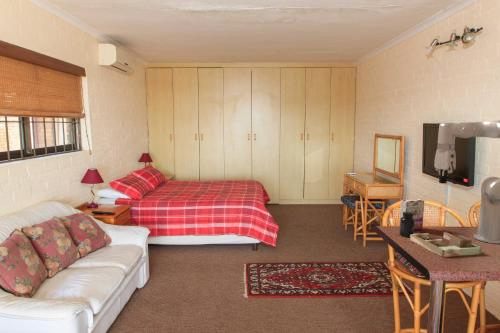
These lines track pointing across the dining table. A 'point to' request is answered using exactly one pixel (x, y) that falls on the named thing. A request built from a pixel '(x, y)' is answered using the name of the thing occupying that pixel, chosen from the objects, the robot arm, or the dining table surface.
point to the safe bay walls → (466, 249)
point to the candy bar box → (414, 210)
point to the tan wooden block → (460, 241)
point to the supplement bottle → (407, 224)
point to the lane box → (435, 244)
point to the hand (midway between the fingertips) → (442, 182)
